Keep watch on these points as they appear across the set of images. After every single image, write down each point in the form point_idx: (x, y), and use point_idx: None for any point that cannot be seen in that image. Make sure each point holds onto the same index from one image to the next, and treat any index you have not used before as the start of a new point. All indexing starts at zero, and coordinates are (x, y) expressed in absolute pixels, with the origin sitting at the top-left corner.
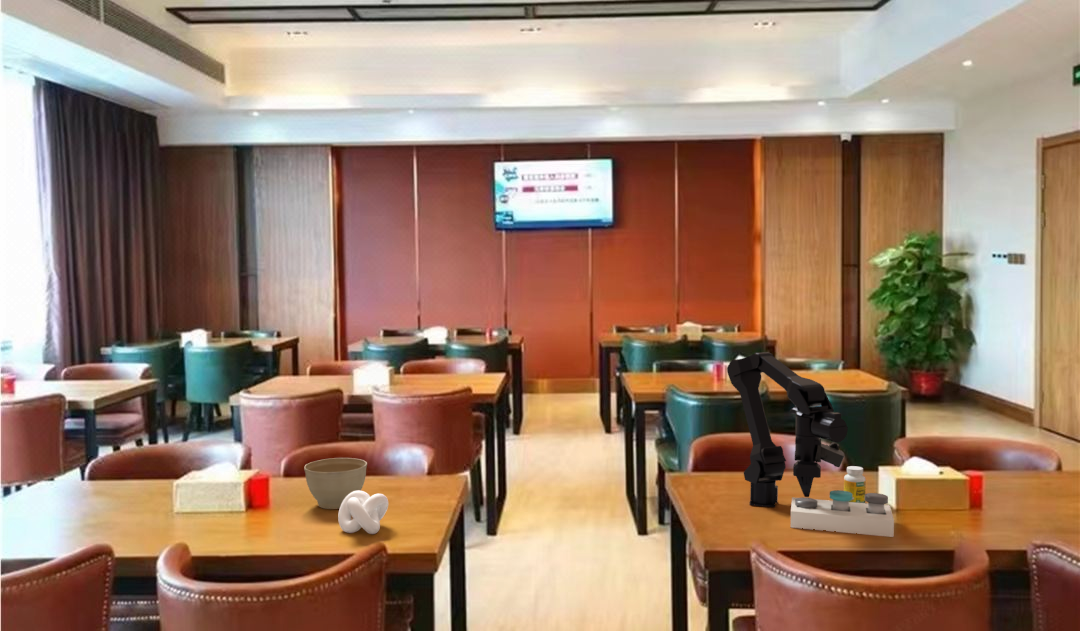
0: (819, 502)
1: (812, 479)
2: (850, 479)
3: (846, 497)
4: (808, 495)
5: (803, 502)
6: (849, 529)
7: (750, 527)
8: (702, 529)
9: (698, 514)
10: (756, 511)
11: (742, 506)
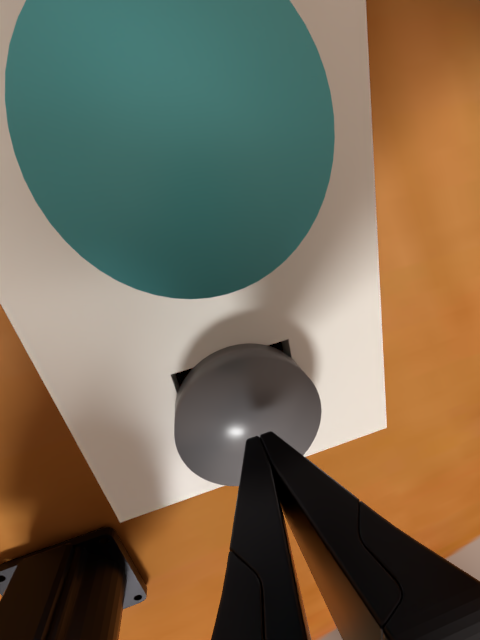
0: (125, 361)
1: (475, 581)
2: None
3: (304, 42)
4: (280, 440)
5: (303, 424)
6: None
7: (386, 479)
8: (442, 550)
9: (324, 618)
10: (203, 542)
11: (171, 596)
